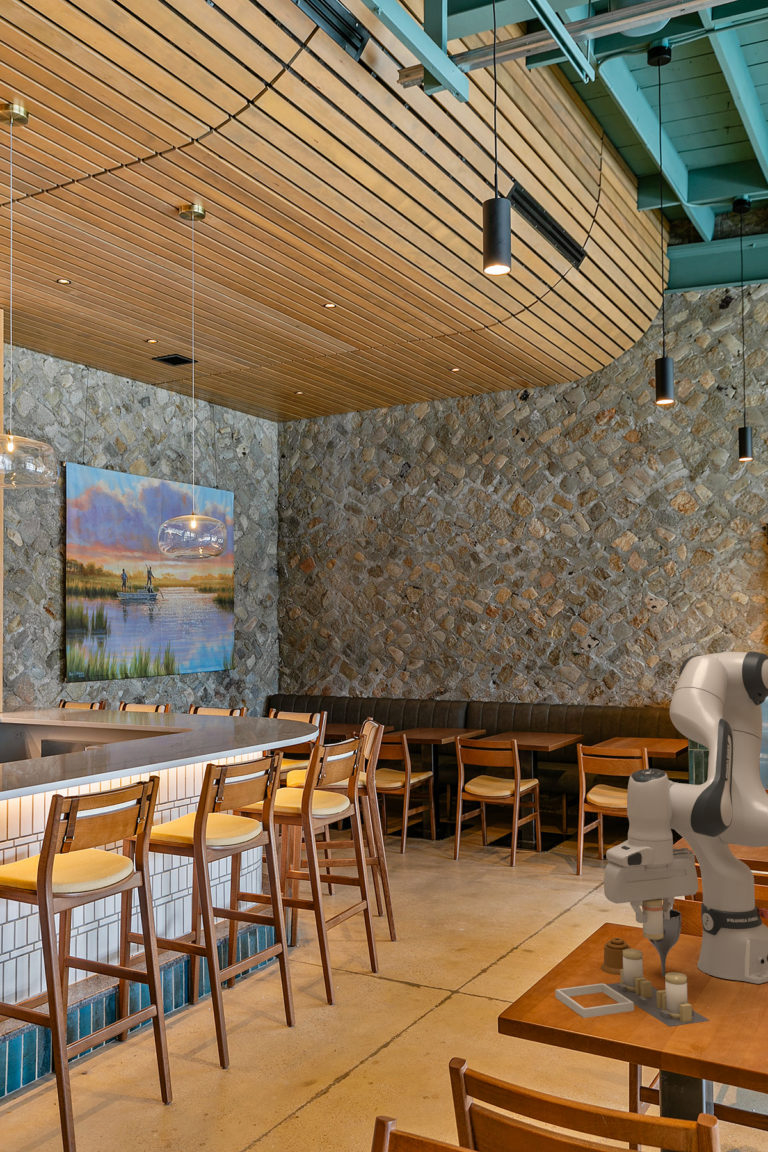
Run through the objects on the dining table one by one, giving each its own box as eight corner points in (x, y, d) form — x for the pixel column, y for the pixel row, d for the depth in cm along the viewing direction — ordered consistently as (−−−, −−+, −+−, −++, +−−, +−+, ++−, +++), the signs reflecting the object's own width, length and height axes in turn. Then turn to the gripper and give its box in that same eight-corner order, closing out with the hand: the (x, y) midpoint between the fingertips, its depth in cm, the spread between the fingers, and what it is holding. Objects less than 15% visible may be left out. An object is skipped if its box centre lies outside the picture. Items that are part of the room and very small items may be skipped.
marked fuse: (656, 932, 192) (654, 895, 192) (668, 938, 188) (666, 900, 188) (638, 934, 190) (637, 897, 191) (650, 940, 186) (649, 902, 187)
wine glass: (642, 986, 200) (641, 915, 201) (646, 974, 208) (645, 905, 209) (681, 991, 197) (679, 919, 198) (684, 979, 205) (682, 909, 206)
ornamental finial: (620, 968, 212) (642, 979, 205) (593, 973, 209) (615, 984, 202) (619, 932, 212) (641, 941, 206) (592, 936, 209) (614, 946, 203)
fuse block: (641, 987, 200) (640, 965, 200) (710, 1028, 178) (709, 1004, 179) (604, 992, 197) (603, 970, 198) (669, 1034, 176) (669, 1010, 176)
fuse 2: (679, 1010, 183) (678, 971, 184) (692, 1018, 180) (691, 977, 180) (662, 1013, 182) (661, 973, 183) (674, 1020, 178) (673, 980, 179)
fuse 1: (636, 984, 198) (635, 947, 198) (647, 990, 194) (646, 953, 194) (619, 986, 196) (618, 949, 197) (630, 993, 193) (629, 955, 193)
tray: (603, 998, 194) (603, 983, 194) (634, 1018, 183) (633, 1002, 184) (555, 1004, 191) (555, 989, 191) (583, 1025, 180) (583, 1009, 180)
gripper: (684, 843, 196) (686, 911, 196) (598, 852, 190) (600, 921, 189) (703, 850, 190) (705, 919, 190) (615, 858, 184) (618, 930, 183)
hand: (652, 920), depth 189 cm, fingers closed on marked fuse, 4 cm apart
